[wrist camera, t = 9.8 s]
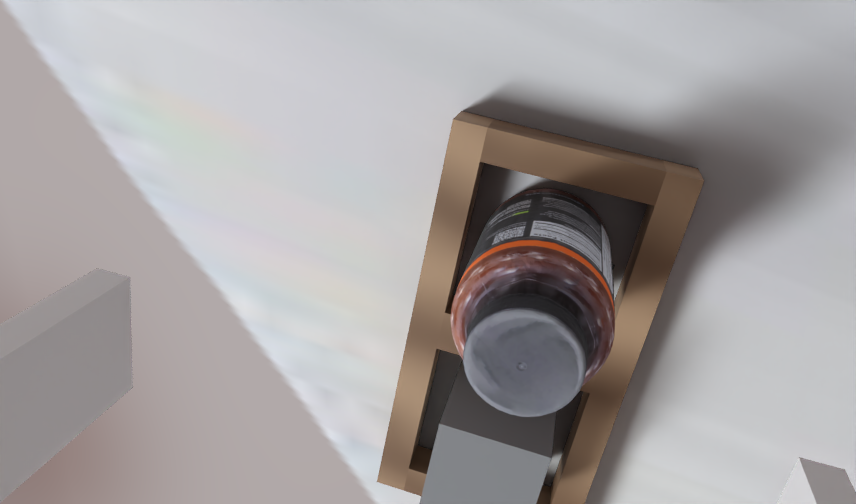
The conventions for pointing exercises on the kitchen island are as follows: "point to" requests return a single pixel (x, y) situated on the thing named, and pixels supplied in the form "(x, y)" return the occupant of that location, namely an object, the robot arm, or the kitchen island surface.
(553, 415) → the block
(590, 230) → the supplement bottle
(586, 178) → the brown wooden frame
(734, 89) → the kitchen island surface
